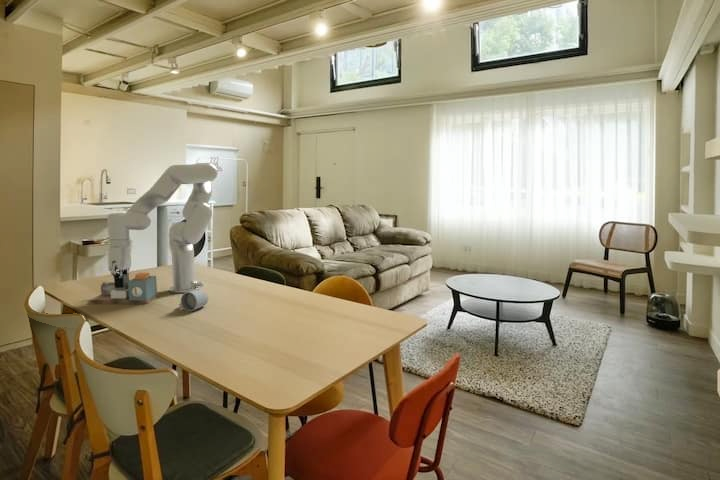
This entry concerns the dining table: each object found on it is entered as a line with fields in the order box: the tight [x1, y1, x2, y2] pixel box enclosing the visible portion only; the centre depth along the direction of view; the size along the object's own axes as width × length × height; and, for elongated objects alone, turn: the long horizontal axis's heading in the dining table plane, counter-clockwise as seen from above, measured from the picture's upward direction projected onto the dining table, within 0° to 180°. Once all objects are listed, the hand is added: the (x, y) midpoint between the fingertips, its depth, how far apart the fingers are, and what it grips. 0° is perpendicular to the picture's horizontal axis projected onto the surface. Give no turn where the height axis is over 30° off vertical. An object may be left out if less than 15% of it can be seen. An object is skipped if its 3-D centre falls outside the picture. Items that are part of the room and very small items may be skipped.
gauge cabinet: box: [128, 275, 158, 300], centre depth 179 cm, size 7×11×8 cm, turn 3°
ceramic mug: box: [178, 289, 209, 312], centre depth 169 cm, size 11×8×8 cm
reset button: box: [134, 272, 150, 280], centre depth 178 cm, size 4×4×3 cm
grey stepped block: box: [111, 273, 130, 299], centre depth 178 cm, size 6×7×9 cm
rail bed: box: [88, 281, 158, 305], centre depth 179 cm, size 23×10×7 cm, turn 93°
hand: (122, 285), depth 178 cm, fingers closed on grey stepped block, 4 cm apart
